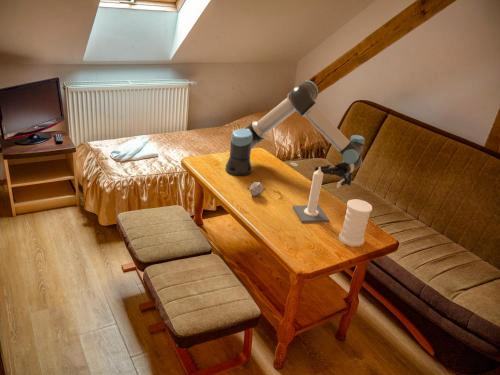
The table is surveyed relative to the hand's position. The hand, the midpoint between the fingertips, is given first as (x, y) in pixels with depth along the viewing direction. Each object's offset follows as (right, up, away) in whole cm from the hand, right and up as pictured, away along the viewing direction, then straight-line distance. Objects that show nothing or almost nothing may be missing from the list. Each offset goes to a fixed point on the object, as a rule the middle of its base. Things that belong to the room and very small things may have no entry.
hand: (325, 180), depth 216 cm
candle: (-7, -16, 0) cm, 17 cm away
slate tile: (-7, -17, 0) cm, 18 cm away
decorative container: (+9, -27, -15) cm, 33 cm away
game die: (-34, -8, +12) cm, 37 cm away
